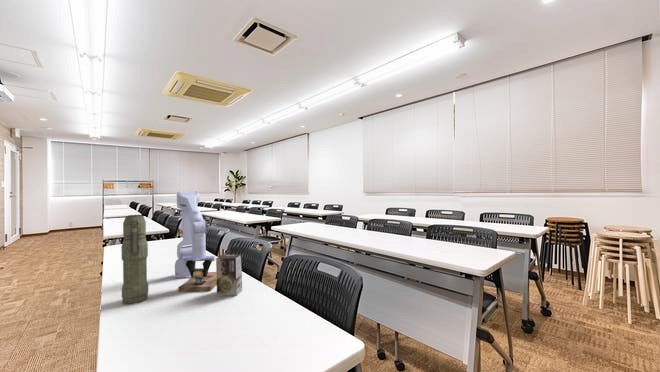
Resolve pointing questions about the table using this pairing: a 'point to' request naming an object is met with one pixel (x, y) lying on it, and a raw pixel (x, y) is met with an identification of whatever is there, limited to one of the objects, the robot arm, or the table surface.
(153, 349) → the table surface
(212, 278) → the board
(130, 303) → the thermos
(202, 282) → the gold rounded piece
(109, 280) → the table surface
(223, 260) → the coffee box
